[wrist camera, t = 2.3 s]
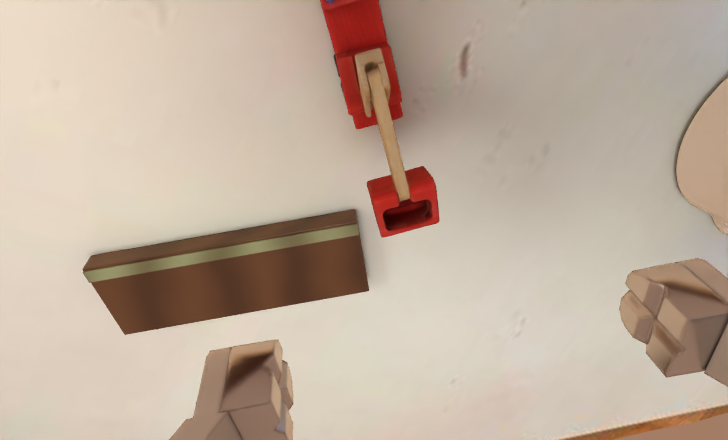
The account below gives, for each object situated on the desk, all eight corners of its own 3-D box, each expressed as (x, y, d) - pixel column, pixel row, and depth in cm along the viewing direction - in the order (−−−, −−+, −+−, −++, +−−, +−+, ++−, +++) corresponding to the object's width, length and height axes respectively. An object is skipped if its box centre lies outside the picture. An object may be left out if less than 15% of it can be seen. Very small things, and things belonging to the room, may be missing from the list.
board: (354, 209, 33) (357, 221, 32) (367, 278, 37) (369, 292, 36) (90, 255, 33) (81, 270, 31) (131, 320, 37) (124, 336, 35)
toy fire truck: (361, -73, 23) (391, -74, 15) (408, 152, 31) (444, 231, 23) (301, -56, 24) (299, -47, 16) (362, 165, 31) (382, 247, 23)
